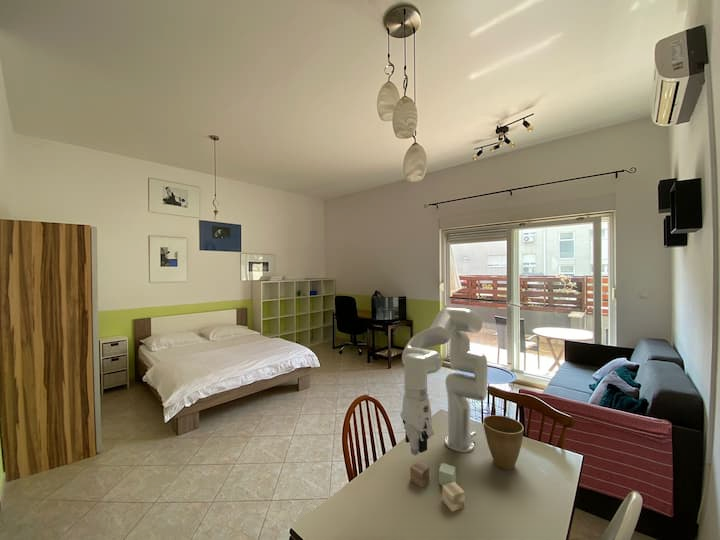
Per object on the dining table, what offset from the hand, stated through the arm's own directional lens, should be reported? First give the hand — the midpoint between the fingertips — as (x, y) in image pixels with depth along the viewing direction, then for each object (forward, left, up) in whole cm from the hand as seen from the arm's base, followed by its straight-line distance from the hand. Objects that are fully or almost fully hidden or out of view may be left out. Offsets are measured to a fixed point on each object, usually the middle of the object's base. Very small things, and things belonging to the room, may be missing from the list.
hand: (416, 445), depth 96 cm
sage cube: (-17, -2, -19) cm, 26 cm away
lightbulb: (0, 0, -3) cm, 3 cm away
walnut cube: (-9, -8, -19) cm, 23 cm away
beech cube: (-11, +6, -19) cm, 23 cm away
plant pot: (-45, +2, -20) cm, 49 cm away
